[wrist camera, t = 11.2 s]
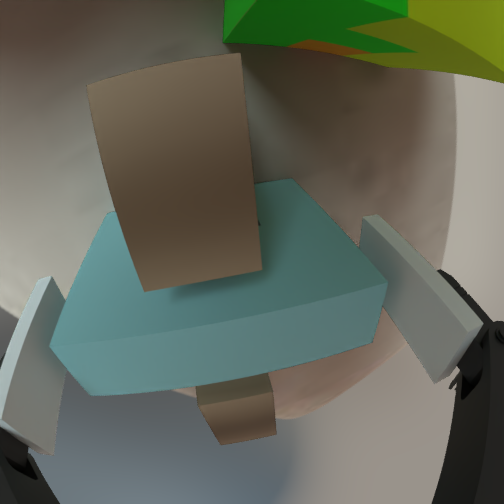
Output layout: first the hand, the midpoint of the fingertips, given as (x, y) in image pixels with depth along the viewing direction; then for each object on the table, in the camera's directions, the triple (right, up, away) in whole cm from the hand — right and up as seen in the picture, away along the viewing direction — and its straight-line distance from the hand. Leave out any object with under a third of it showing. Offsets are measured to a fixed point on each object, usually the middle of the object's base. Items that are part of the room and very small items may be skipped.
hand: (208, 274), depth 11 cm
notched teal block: (-1, +3, +6) cm, 6 cm away
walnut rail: (-1, +3, +6) cm, 6 cm away
